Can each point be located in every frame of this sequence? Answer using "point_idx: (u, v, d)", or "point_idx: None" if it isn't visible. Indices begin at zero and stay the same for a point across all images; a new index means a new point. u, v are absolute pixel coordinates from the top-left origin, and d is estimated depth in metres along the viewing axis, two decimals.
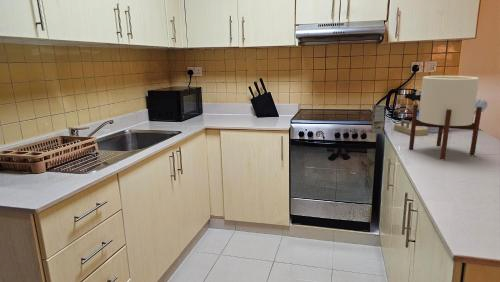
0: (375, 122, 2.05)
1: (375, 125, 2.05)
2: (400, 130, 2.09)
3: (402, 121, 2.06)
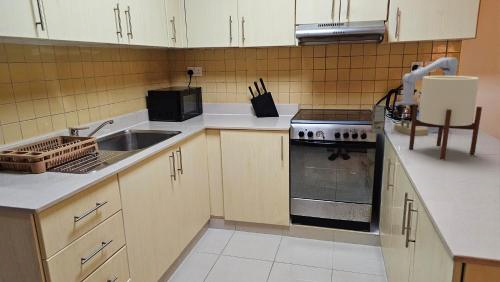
0: (375, 122, 2.05)
1: (375, 125, 2.05)
2: (400, 130, 2.09)
3: (402, 121, 2.06)
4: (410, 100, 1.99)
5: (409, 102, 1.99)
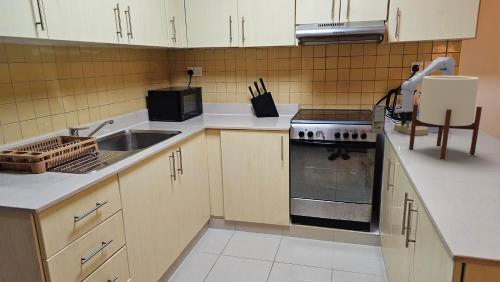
0: (375, 122, 2.05)
1: (375, 125, 2.05)
2: (400, 130, 2.09)
3: None
4: (409, 107, 2.00)
5: (408, 109, 2.00)
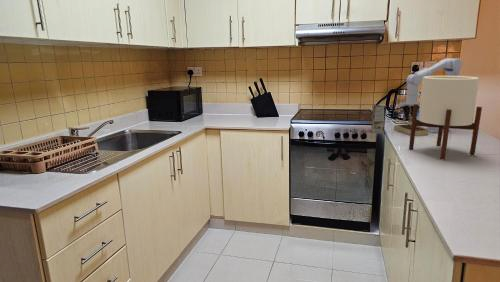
0: (375, 122, 2.05)
1: (375, 125, 2.05)
2: (400, 130, 2.09)
3: None
4: (414, 101, 2.00)
5: (413, 103, 2.00)
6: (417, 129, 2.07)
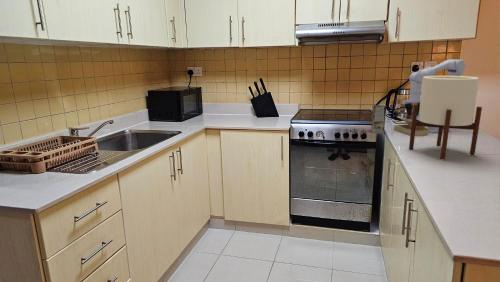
0: (375, 122, 2.05)
1: (375, 125, 2.05)
2: (400, 130, 2.09)
3: None
4: (417, 99, 2.00)
5: (416, 101, 2.00)
6: (417, 129, 2.07)
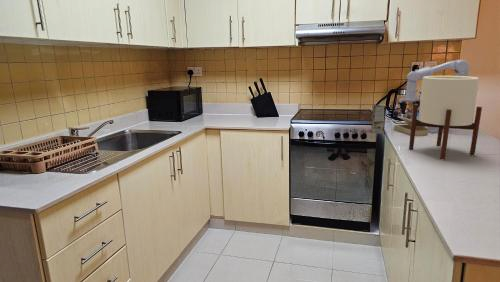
0: (375, 122, 2.05)
1: (375, 125, 2.05)
2: (400, 130, 2.09)
3: (408, 113, 2.06)
4: (413, 97, 2.07)
5: (412, 99, 2.07)
6: (417, 129, 2.07)
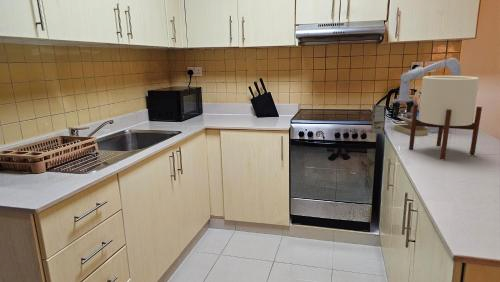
0: (375, 122, 2.05)
1: (375, 125, 2.05)
2: (400, 130, 2.09)
3: (408, 113, 2.06)
4: (406, 97, 2.12)
5: (405, 99, 2.12)
6: (417, 129, 2.07)
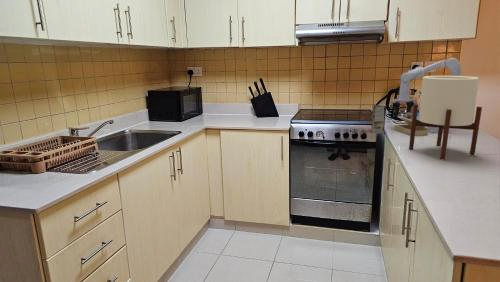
0: (375, 122, 2.05)
1: (375, 125, 2.05)
2: (400, 130, 2.09)
3: (408, 113, 2.06)
4: (406, 97, 2.12)
5: (405, 99, 2.12)
6: (417, 129, 2.07)
